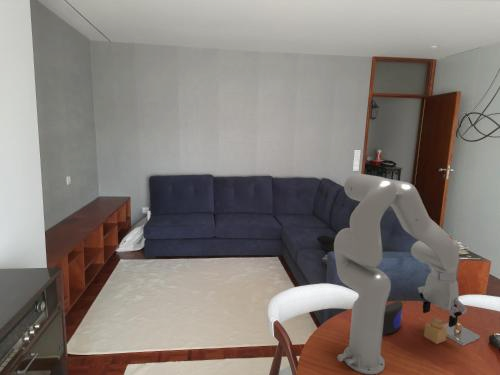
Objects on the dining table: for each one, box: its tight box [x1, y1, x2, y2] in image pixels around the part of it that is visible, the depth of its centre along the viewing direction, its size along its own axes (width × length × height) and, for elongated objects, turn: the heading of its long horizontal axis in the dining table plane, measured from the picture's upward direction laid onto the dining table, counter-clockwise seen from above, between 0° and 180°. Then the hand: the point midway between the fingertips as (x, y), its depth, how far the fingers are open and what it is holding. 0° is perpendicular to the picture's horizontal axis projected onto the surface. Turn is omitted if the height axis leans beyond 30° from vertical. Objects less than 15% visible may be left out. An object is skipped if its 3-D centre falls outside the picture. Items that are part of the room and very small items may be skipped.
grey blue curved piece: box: [382, 300, 404, 336], centre depth 121 cm, size 16×5×9 cm, turn 123°
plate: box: [443, 321, 481, 347], centre depth 120 cm, size 10×10×4 cm
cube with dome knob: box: [423, 317, 447, 345], centre depth 117 cm, size 5×5×7 cm
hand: (438, 318), depth 117 cm, fingers open, 9 cm apart
